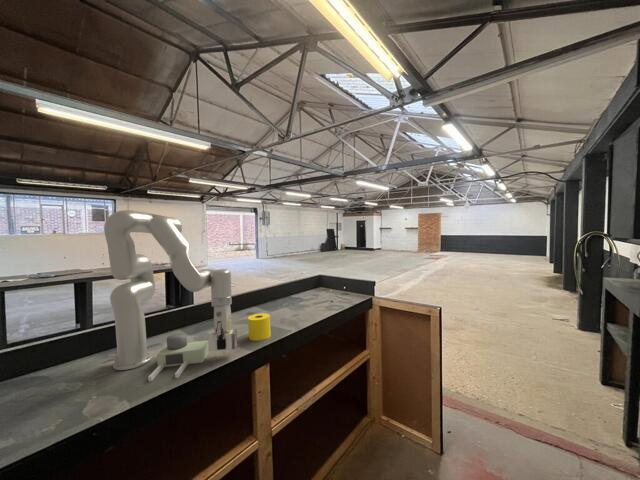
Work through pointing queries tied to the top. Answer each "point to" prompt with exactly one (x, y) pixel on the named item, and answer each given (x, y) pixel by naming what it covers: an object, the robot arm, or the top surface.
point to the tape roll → (259, 327)
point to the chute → (230, 340)
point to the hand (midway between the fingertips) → (223, 345)
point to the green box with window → (180, 354)
